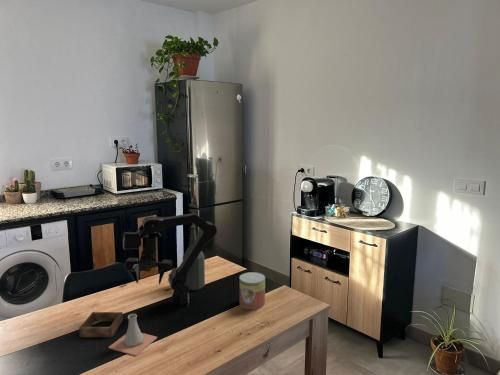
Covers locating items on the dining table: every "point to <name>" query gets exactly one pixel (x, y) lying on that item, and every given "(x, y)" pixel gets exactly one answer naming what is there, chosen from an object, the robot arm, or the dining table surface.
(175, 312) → the dining table surface
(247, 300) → the canned food
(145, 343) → the terracotta mat
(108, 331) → the walnut box
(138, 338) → the flask
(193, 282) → the bottle
